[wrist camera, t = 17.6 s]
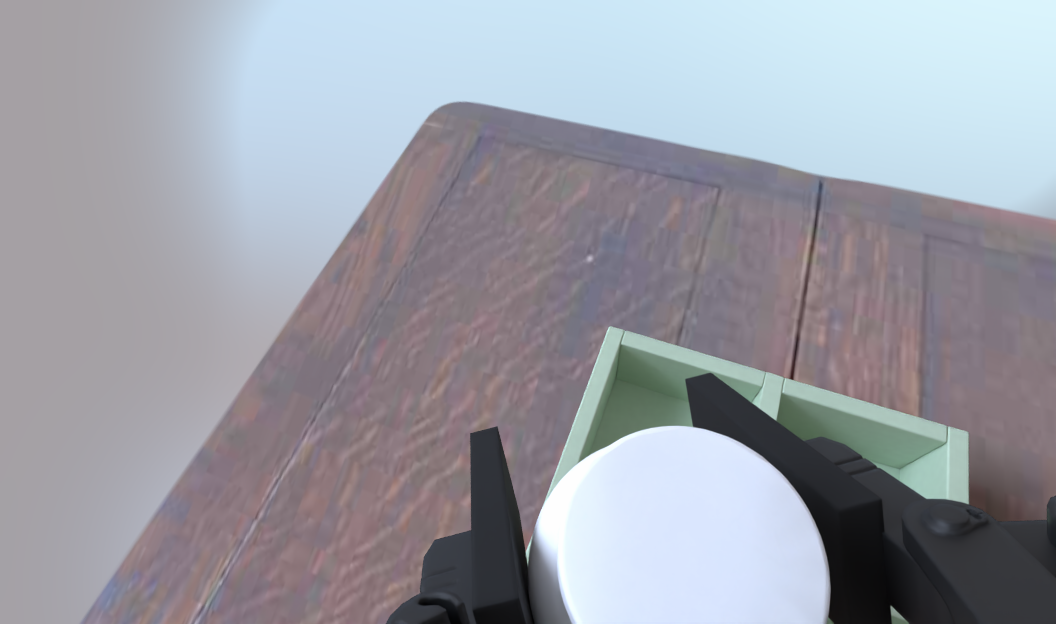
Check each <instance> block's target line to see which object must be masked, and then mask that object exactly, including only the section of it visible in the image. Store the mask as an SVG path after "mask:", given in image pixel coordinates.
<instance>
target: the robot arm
mask: <svg viewBox="0 0 1056 624" xmlns="http://www.w3.org/2000/svg"><path fill="white" fill-rule="evenodd" d="M685 382H686V388H687V394H688V400H689V406H690V412H691V418H692V424H693V427H695V428H701V429H706V430H709V431H712V432H715V433H718V434H721V435H724V436H727V437H729V438H732V439H734V440H736V441H738V442H740V443H742V444H744V445H745V446H747V447H748V448H750V449H752V450H753V451H755V452H757V453H758V454H759V455H761V456H762V457H764V458H765V459H766V460H767V461H768V462H769V463H770V464H772V465H773V466H774V467H775V468H776V469H777V470H778V471H779V472H781V473H782V475H783V476H784V477H785V478H786V479H787V480H788V481H789V482H790V484H791V485H792V486H793V487H794V489H795V490H796V491H797V493H798V494H799V495H800V497H801V498H802V500H803V501H804V503H805V504H806V506H807V508H808V509H809V511H810V513H811V515H812V517H813V519H814V521H815V523H816V526H817V528H818V531H819V533H820V535H821V538H822V541H823V544H824V548H825V552H826V555H827V560H828V565H829V575H830V586H831V593H830V606H829V615H828V617H829V618H830V620H831V621H832V622H833V623H834V624H892V618H891V606H892V607H893V608H894V609H895V610H896V611H897V612H898V613H899V614H900V615H901V616H902V617H903V618H904V619H905V620H906V621H907V622H908V623H909V624H1056V496H1054V497H1051V498H1050V500H1049V502H1048V505H1047V520H1035V521H1007V522H1000V521H996V520H995V519H994V518H993V517H991V516H990V515H988V514H987V513H985V512H984V511H983V510H981V509H979V508H976V507H974V506H971V505H969V504H966V503H963V502H958V501H953V500H948V499H926V498H924V497H923V496H921V495H920V494H918V493H917V492H915V491H914V490H912V489H911V488H909V487H908V486H906V485H905V484H903V483H902V482H900V481H899V480H897V479H896V478H894V477H893V476H891V475H890V474H888V473H887V472H885V471H884V470H882V469H881V468H877V466H876V465H875V464H873V463H872V462H870V461H869V460H867V459H866V458H864V459H863V457H862V456H861V455H860V454H858V453H857V452H855V451H854V450H852V449H851V448H849V447H848V446H846V445H845V444H842V443H839V442H836V441H833V440H830V439H827V438H824V437H817V438H813V439H809V440H805V441H803V440H802V439H800V438H799V437H798V436H796V435H795V434H793V433H792V432H791V431H789V430H788V429H787V428H785V427H784V426H783V425H781V424H780V423H779V422H777V421H776V420H775V419H773V418H772V417H770V416H769V415H768V414H766V413H765V412H764V411H762V410H761V409H760V408H758V407H757V406H756V405H754V404H753V403H751V402H750V401H749V400H747V399H746V398H745V397H743V396H742V395H741V394H739V393H738V392H737V391H735V390H734V389H733V388H731V387H730V386H728V385H727V384H726V383H724V382H723V381H722V380H720V379H719V378H718V377H716V376H715V375H714V374H712V373H711V372H710V373H706V374H702V375H698V376H695V377H691V378H687V379H685ZM470 445H471V531H467V532H463V533H459V534H455V535H452V536H448V537H444V538H440V539H437V540H435V541H434V542H433V544H432V545H431V547H430V549H429V550H428V552H427V553H426V555H425V556H424V560H423V569H422V579H421V585H420V594H419V595H416V596H414V597H413V598H411V599H410V600H408V601H406V602H405V603H403V604H402V605H401V606H400V607H399V608H398V609H397V610H396V611H395V612H394V613H393V614H392V615H391V616H390V617H389V619H388V621H387V623H386V624H534V620H533V615H532V611H531V607H530V601H529V595H528V578H527V576H528V564H527V558H526V552H525V545H524V539H523V533H522V527H521V520H520V514H519V510H518V506H517V502H516V498H515V494H514V490H513V486H512V482H511V478H510V474H509V470H508V467H507V463H506V459H505V455H504V451H503V447H502V443H501V439H500V435H499V431H498V427H494V428H490V429H486V430H482V431H478V432H474V433H470Z"/></svg>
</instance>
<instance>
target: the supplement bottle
mask: <svg viewBox="0 0 1056 624" xmlns="http://www.w3.org/2000/svg"><path fill="white" fill-rule="evenodd" d="M527 578H528V595H529V601H530V607H531V611H532V615H533V620H534V624H826V623H827V619H828V615H829V606H830V593H831V586H830V575H829V565H828V560H827V555H826V552H825V548H824V544H823V541H822V538H821V535H820V533H819V531H818V528H817V526H816V523H815V521H814V519H813V517H812V515H811V513H810V511H809V509H808V508H807V506H806V504H805V503H804V501H803V500H802V498H801V497H800V495H799V494H798V493H797V491H796V490H795V489H794V487H793V486H792V485H791V484H790V482H789V481H788V480H787V479H786V478H785V477H784V476H783V475H782V473H781V472H779V471H778V470H777V469H776V468H775V467H774V466H773V465H772V464H770V463H769V462H768V461H767V460H766V459H765V458H764V457H762V456H761V455H759V454H758V453H757V452H755V451H753V450H752V449H750V448H748V447H747V446H745V445H744V444H742V443H740V442H738V441H736V440H734V439H732V438H729V437H727V436H724V435H721V434H718V433H715V432H712V431H709V430H706V429H701V428H695V427H687V426H664V427H655V428H650V429H645V430H641V431H638V432H635V433H632V434H630V435H627V436H625V437H623V438H621V439H619V440H617V441H616V442H614V443H613V444H611V445H609V446H607V447H605V448H603V449H600V450H598V451H596V452H594V453H593V454H591V455H589V456H588V457H586V458H585V459H583V460H582V461H581V462H579V463H578V464H577V465H575V466H574V467H573V468H572V469H571V470H570V471H569V472H568V473H567V474H566V475H565V476H564V477H563V478H562V479H561V480H560V482H559V483H558V484H557V485H556V487H555V488H554V489H553V491H552V492H551V494H550V496H549V497H548V499H547V500H546V502H545V504H544V506H543V508H542V510H541V512H540V515H539V517H538V520H537V522H536V525H535V529H534V532H533V536H532V540H531V545H530V552H529V560H528V576H527Z"/></svg>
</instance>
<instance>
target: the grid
mask: <svg viewBox="0 0 1056 624" xmlns="http://www.w3.org/2000/svg"><path fill="white" fill-rule="evenodd" d="M710 372H711V373H712V374H714V375H715V376H716V377H718V378H719V379H720V380H722V381H723V382H724V383H726V384H727V385H728V386H730V387H731V388H733V389H734V390H735V391H737V392H738V393H739V394H741V395H742V396H743V397H745V398H746V399H747V400H749V401H750V402H751V403H753V404H754V405H756V406H757V407H758V408H760V409H761V410H762V411H764V412H765V413H766V414H768V415H769V416H770V417H772V418H773V419H775V420H776V421H777V422H779V423H780V424H781V425H783V426H784V427H785V428H787V429H788V430H789V431H791V432H792V433H793V434H795V435H796V436H798V437H799V438H800V439H802V440H803V441H805V440H809V439H813V438H817V437H824V438H827V439H830V440H833V441H836V442H839V443H842V444H845V445H846V446H848V447H849V448H851V449H852V450H854V451H855V452H857V453H858V454H860V455H861V456H862V457H863V459H864V458H866V459H867V460H869V461H870V462H872V463H873V464H875V465H876V466H877V468H881V469H882V470H884V471H885V472H887V473H888V474H890V475H891V476H893V477H894V478H896V479H897V480H899V481H900V482H902V483H903V484H905V485H906V486H908V487H909V488H911V489H912V490H914V491H915V492H917V493H918V494H920V495H921V496H923V497H924V498H926V499H948V500H953V501H958V502H963V503H966V504H969V433H968V432H966V431H963V430H959V429H956V428H952V427H947V426H946V425H942V424H939V423H936V422H932V421H929V420H926V419H922V418H919V417H915V416H912V415H909V414H905V413H902V412H899V411H895V410H892V409H888V408H885V407H882V406H878V405H875V404H871V403H868V402H865V401H861V400H858V399H855V398H851V397H848V396H844V395H841V394H838V393H834V392H831V391H828V390H824V389H821V388H817V387H814V386H811V385H807V384H804V383H801V382H797V381H794V380H790V379H787V378H785V379H784V377H782V376H778V375H775V374H771V373H768V372H766V373H765V372H764V371H761V370H757V369H754V368H750V367H747V366H744V365H740V364H737V363H734V362H730V361H727V360H723V359H720V358H717V357H713V356H710V355H707V354H703V353H700V352H696V351H693V350H690V349H686V348H683V347H679V346H676V345H673V344H669V343H666V342H663V341H659V340H656V339H652V338H649V337H646V336H642V335H639V334H636V333H632V332H629V331H624V330H621V329H618V328H615V327H611V326H610V327H609V328H608V331H607V334H606V336H605V339H604V342H603V344H602V347H601V350H600V353H599V355H598V358H597V361H596V364H595V366H594V369H593V372H592V374H591V377H590V380H589V383H588V385H587V388H586V391H585V393H584V396H583V399H582V402H581V404H580V407H579V410H578V412H577V415H576V418H575V421H574V423H573V426H572V429H571V431H570V434H569V437H568V440H567V442H566V445H565V448H564V451H563V453H562V456H561V459H560V461H559V464H558V467H557V470H556V472H555V475H554V478H553V480H552V483H551V486H550V489H549V491H548V494H547V497H546V499H545V502H546V500H547V499H548V497H549V496H550V494H551V492H552V491H553V489H554V488H555V487H556V485H557V484H558V483H559V482H560V480H561V479H562V478H563V477H564V476H565V475H566V474H567V473H568V472H569V471H570V470H571V469H572V468H573V467H574V466H575V465H577V464H578V463H579V462H581V461H582V460H583V459H585V458H586V457H588V456H589V455H591V454H593V453H594V452H596V451H598V450H600V449H603V448H605V447H607V446H609V445H611V444H613V443H614V442H616V441H617V440H619V439H621V438H623V437H625V436H627V435H630V434H632V433H635V432H638V431H641V430H645V429H650V428H655V427H664V426H687V427H693V424H692V418H691V412H690V406H689V400H688V394H687V388H686V382H685V379H687V378H691V377H695V376H698V375H702V374H706V373H710ZM545 502H544V504H545ZM543 506H544V505H543ZM532 536H533V535H532ZM531 540H532V537H531ZM531 540H530V543H529V546H528V548H527V551H526V558H527V564H528V560H529V552H530V545H531ZM891 618H892V624H909V623H908V622H907V621H906V620H905V619H904V618H903V617H902V616H901V615H900V614H899V613H898V612H897V611H896V610H895V609H894V608H893V607H892V606H891ZM826 624H834V623H833V622H832V621H831V620H830V618H829V617H828V619H827V623H826Z"/></svg>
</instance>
